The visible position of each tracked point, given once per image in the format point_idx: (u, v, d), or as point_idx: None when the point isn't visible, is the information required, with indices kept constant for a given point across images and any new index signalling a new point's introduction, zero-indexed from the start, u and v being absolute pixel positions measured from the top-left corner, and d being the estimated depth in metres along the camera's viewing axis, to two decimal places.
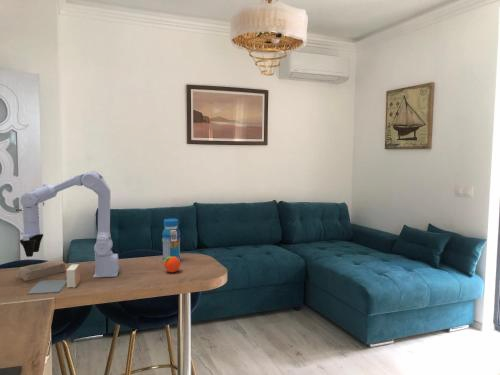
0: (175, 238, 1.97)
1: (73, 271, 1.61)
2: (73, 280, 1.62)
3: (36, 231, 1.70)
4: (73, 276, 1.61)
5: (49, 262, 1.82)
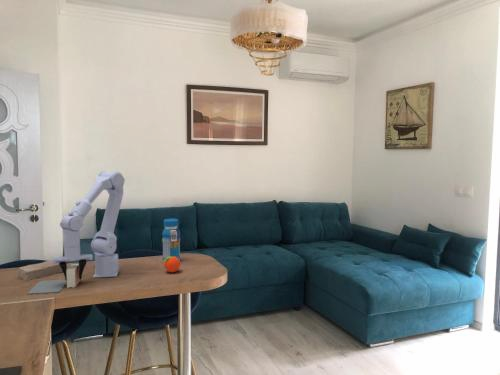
0: (175, 238, 1.97)
1: (73, 271, 1.61)
2: (73, 280, 1.62)
3: (68, 257, 1.62)
4: (73, 276, 1.61)
5: (48, 262, 1.82)
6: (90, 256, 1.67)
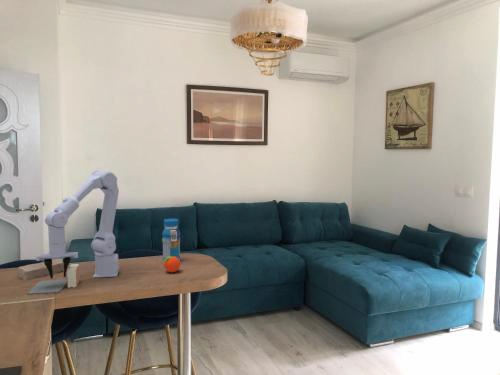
0: (175, 238, 1.97)
1: (74, 271, 1.61)
2: (74, 280, 1.62)
3: (52, 254, 1.59)
4: (74, 276, 1.62)
5: None
6: (75, 254, 1.63)
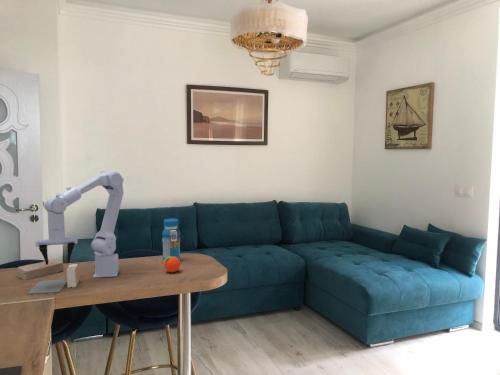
0: (175, 238, 1.97)
1: (73, 271, 1.61)
2: (73, 280, 1.62)
3: (51, 239, 1.58)
4: (73, 276, 1.61)
5: None
6: (75, 240, 1.62)
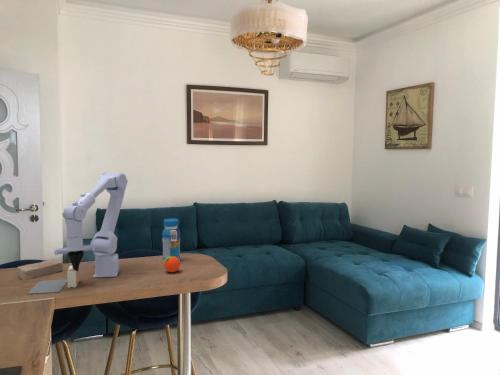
0: (175, 238, 1.97)
1: (74, 272, 1.61)
2: (74, 281, 1.62)
3: (72, 247, 1.60)
4: (74, 277, 1.62)
5: (47, 261, 1.83)
6: (92, 246, 1.66)
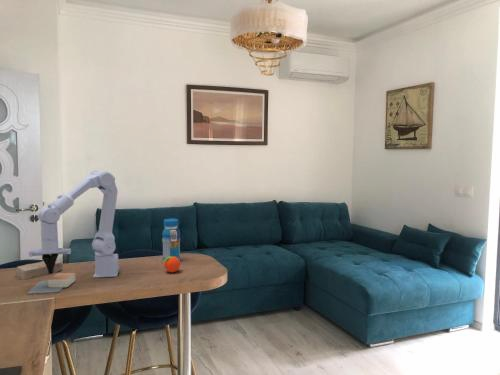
0: (175, 238, 1.97)
1: (49, 280, 1.60)
2: (59, 281, 1.60)
3: (44, 250, 1.58)
4: (55, 280, 1.60)
5: None
6: (68, 250, 1.62)
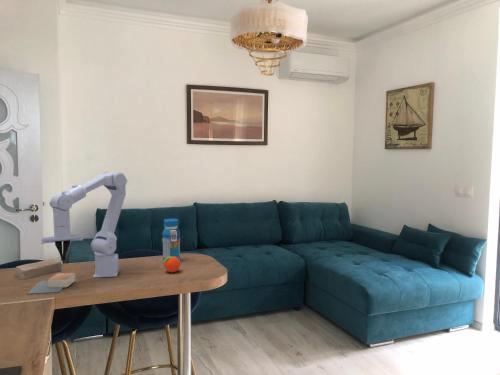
0: (175, 238, 1.97)
1: (49, 280, 1.60)
2: (59, 281, 1.60)
3: (57, 236, 1.58)
4: (55, 280, 1.60)
5: (45, 261, 1.84)
6: (80, 236, 1.63)
